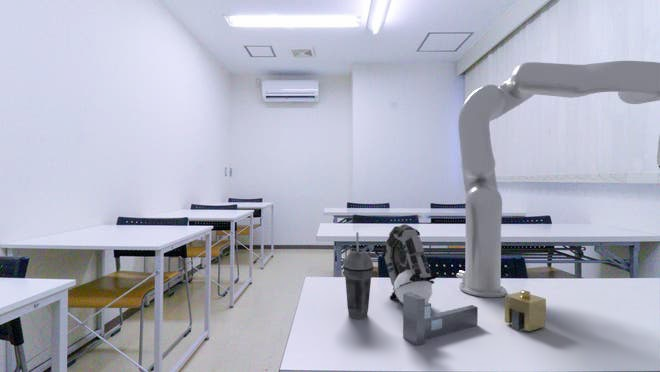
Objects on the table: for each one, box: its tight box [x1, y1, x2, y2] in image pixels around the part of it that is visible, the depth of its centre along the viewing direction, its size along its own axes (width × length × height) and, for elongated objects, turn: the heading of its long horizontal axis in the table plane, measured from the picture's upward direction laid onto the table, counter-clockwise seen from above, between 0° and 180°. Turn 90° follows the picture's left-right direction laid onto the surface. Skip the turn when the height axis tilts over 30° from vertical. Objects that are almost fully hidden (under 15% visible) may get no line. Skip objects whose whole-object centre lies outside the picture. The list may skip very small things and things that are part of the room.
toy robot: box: [381, 223, 439, 304], centre depth 90 cm, size 18×10×22 cm
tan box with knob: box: [504, 289, 547, 332], centre depth 75 cm, size 6×6×7 cm
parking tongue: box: [511, 309, 525, 332], centre depth 75 cm, size 2×7×4 cm, turn 118°
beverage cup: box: [342, 232, 374, 320], centre depth 80 cm, size 7×7×20 cm
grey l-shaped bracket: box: [402, 292, 479, 347], centre depth 72 cm, size 4×19×9 cm, turn 118°
